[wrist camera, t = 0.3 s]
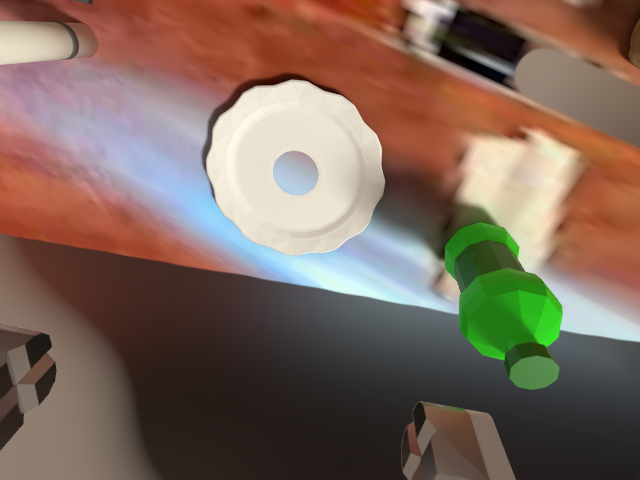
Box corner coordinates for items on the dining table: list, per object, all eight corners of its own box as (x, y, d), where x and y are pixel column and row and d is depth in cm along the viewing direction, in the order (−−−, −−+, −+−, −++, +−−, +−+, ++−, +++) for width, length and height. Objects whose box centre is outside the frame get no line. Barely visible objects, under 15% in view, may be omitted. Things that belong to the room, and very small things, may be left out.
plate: (188, 97, 53) (182, 99, 52) (373, 63, 48) (372, 64, 47) (237, 255, 64) (234, 261, 63) (391, 241, 60) (392, 247, 58)
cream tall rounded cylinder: (66, 18, 50) (-53, 13, 36) (97, 27, 50) (-11, 25, 36) (69, 52, 52) (-44, 60, 38) (98, 61, 52) (-3, 71, 38)
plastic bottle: (520, 259, 58) (606, 398, 36) (448, 280, 61) (488, 419, 39) (503, 201, 54) (588, 316, 32) (428, 226, 57) (460, 347, 35)
